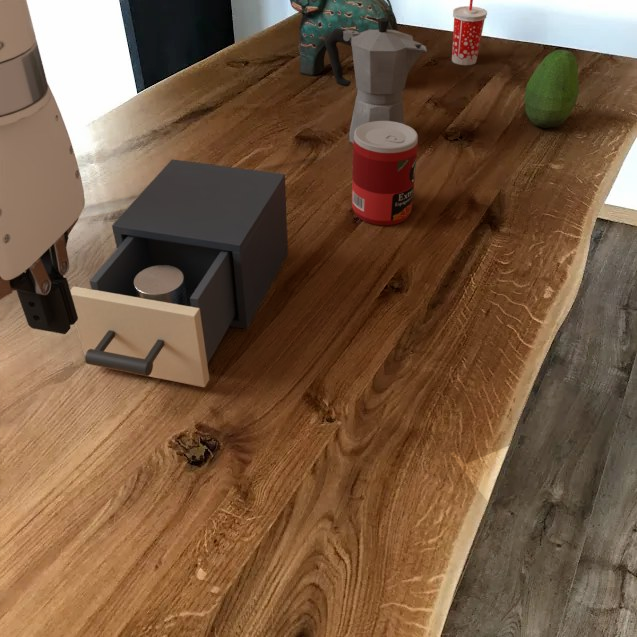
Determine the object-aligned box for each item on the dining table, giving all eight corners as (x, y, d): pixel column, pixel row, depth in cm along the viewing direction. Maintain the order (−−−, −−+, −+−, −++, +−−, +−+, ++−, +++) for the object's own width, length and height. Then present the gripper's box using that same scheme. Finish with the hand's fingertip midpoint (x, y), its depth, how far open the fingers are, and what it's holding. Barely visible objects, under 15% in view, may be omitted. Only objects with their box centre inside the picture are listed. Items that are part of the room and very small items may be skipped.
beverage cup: (486, 60, 138) (498, -19, 129) (469, 69, 135) (479, -11, 126) (459, 52, 141) (468, -25, 132) (441, 61, 138) (449, -18, 129)
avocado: (580, 130, 115) (599, 53, 107) (541, 140, 112) (557, 62, 105) (547, 111, 120) (562, 37, 113) (508, 120, 118) (521, 45, 110)
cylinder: (150, 351, 72) (140, 299, 68) (139, 322, 76) (128, 272, 72) (197, 337, 74) (190, 286, 70) (183, 310, 77) (175, 260, 73)
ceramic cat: (288, 74, 133) (285, -46, 120) (306, 62, 138) (304, -54, 125) (388, 94, 126) (395, -30, 113) (403, 82, 130) (412, -40, 117)
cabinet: (247, 329, 78) (240, 245, 71) (129, 308, 81) (111, 225, 74) (288, 253, 89) (285, 173, 82) (183, 237, 92) (171, 159, 85)
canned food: (403, 231, 93) (409, 152, 86) (343, 220, 95) (344, 141, 88) (418, 202, 98) (425, 125, 91) (361, 192, 100) (364, 116, 93)
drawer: (187, 419, 67) (175, 347, 61) (64, 393, 69) (41, 321, 64) (252, 302, 80) (246, 234, 74) (146, 284, 83) (133, 217, 77)
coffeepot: (427, 133, 114) (439, 14, 103) (407, 159, 107) (417, 35, 96) (337, 116, 119) (338, 0, 108) (312, 140, 113) (311, 19, 101)
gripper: (-3, 34, 49) (62, 261, 60) (-176, 128, 37) (-55, 384, 49) (98, 42, 47) (145, 274, 59) (-50, 143, 36) (44, 405, 47)
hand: (54, 324), depth 54 cm, fingers closed
